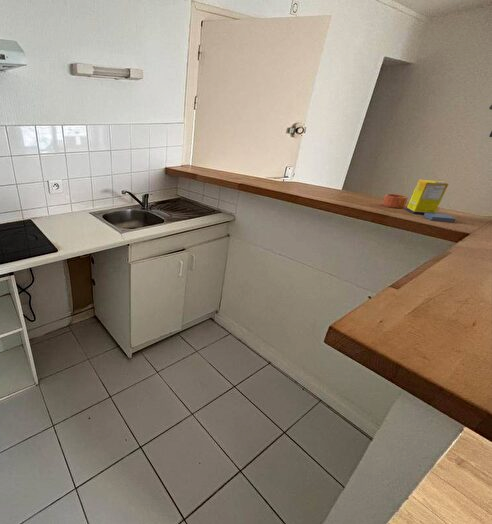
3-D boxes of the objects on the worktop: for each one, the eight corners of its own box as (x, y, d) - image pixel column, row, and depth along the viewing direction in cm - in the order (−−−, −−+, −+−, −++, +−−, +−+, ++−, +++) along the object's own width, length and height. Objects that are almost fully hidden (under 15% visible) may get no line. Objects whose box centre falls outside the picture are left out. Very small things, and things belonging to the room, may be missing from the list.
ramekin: (399, 205, 109) (403, 194, 107) (407, 209, 103) (411, 198, 102) (379, 203, 111) (382, 193, 109) (385, 207, 105) (389, 197, 104)
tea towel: (445, 218, 94) (447, 214, 93) (454, 222, 90) (456, 218, 89) (423, 216, 96) (424, 212, 95) (430, 220, 92) (432, 216, 91)
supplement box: (425, 211, 101) (439, 180, 97) (434, 215, 96) (449, 183, 92) (405, 209, 103) (418, 178, 98) (412, 213, 98) (427, 181, 93)
